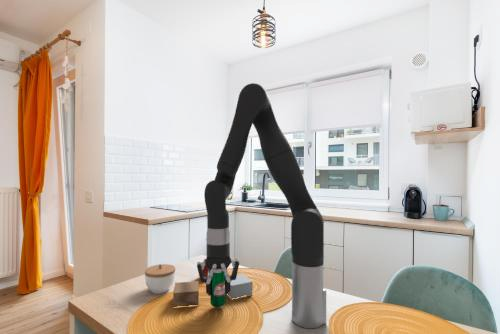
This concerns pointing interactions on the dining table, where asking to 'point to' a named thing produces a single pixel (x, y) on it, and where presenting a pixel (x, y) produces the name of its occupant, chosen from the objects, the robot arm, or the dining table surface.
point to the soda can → (218, 288)
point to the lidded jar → (159, 277)
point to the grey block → (240, 287)
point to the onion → (205, 270)
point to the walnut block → (186, 294)
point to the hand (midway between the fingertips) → (218, 293)
